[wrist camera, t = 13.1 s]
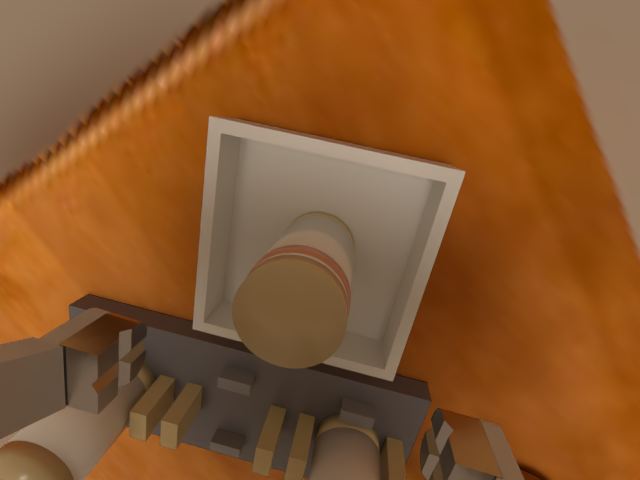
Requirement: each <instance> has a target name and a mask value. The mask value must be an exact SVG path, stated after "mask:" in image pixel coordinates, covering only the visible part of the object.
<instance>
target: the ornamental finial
mask: <svg viewBox="0 0 640 480" xmlns="http://www.w3.org/2000/svg"><path fill="white" fill-rule="evenodd" d="M520 471H521V473H522V475H523V477H524V480H541V479H539V478H538V477H536V476H534V475H532V474H531V473H528V472H526V471H523V470H520Z"/></svg>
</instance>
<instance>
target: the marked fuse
mask: <svg viewBox="0 0 640 480" xmlns="http://www.w3.org/2000/svg"><path fill="white" fill-rule="evenodd" d="M354 252H355V243H354V238H353V235H352V233H351V231H350V229H349V228H348V226H347V225H346V224H345V223H344V222H343V221H342V220H341V219H339V218H338V217H336V216H334V215H332V214H330V213H326V212H320V211H315V212H308V213H305V214H302V215H301V216H299V217H297V218H296V219H294V220H293V221H292V222H291V224H290V225H289V226H288V227H287V229H286V230H285V231H284V232H283V233H282V235H281V236H280V237H279V238H278V240H277V241H276V242H275V243H274V245H273V246H272V247H271V248H270V249H269V251H268V252H267V253H266V254H265V255H264V256H263V257H262V258H261V259H260V260H259V261H258V262H257V263H256V265H255V266H254V267H253V268H252V270H251V271H250V272H249V274H248V276H247V278H246V279H245V280H244V282H243V283H242V284H241V285H240V287H239V288H238V290H237V292H236V294H235V296H234V299H233V304H232V319H233V323H234V327H235V329H236V332H237V334H238V336H239V338H240V339H241V340H242V342H243V343H244V344H245V346H246V347H247V348H248V349H249V350H250V351H251V352H252V353H254V354H255V355H256V356H258V357H259V358H261V359H263V360H264V361H266V362H268V363H271V364H273V365H276V366H280V367H285V368H307V367H311V366H315V365H317V364H320V363H322V362H324V361H325V360H327V359H328V358H330V357H331V356H332V355H333V354H334V353H335V352H336V351H337V350H338V348H339V347H340V345H341V344H342V342H343V339H344V337H345V333H346V328H347V319H348V316H349V311H350V302H351V280H352V271H353V261H354Z"/></svg>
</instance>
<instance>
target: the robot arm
mask: <svg viewBox="0 0 640 480" xmlns="http://www.w3.org/2000/svg"><path fill="white" fill-rule="evenodd" d="M146 336H147V325H146V324H145V323H144V322H141V321H138V320H135V319H131V318H128V317H125V316H122V315H119V314H116V313H113V312H108V311H105V310H102V309H99V308H89V309H88V310H86V311H84V312H83V313H81V314H79V315H78V316H76V317H74V318H72V319H71V320H69V321H67V322H66V323H64V324H62V325H61V326H59V327H57V328H56V329H54V330H52V331H51V332H49V333H47V334H46V335H44V336H42V337H41V338H39V339H37V338H34V337H32V338H27V339H23V340H19V341H14V342H10V343H6V344H1V345H0V439H1V438H4V437H6V436H8V435H10V434H12V433H14V432H16V431H18V430H20V429H22V428H25V427H27V426H29V425H31V424H33V423H35V422H37V421H39V420H41V419H43V418H46V417H48V416H50V415H52V414H54V413H56V412H58V411H60V410H62V409H64V408H66V406H68V407H72V408H75V409H79V410H82V411H86V412H89V413H93V414H96V415H98V414H99V413H100V412H101V411H102V410H103V409H104V408H105V407H106V406H107V405H108V404H109V403H110V402H111V401H112V400H113V399H114V398H115V397H116V396H117V395H118V387H120V386H123V385H126V384H128V383H130V382H131V381H132V380H133V379H134V378H135V377H136V376H137V375H138V373H139V371H140V370H141V368H142V366H143V364H144V361H145V357H146V348H145V346H144V344H143V342H142V340H143V339H144V338H145V337H146ZM431 420H432V425H433V428H432V429H430V430H428V431H426V432H425V435H424V438H423V440H422V445H421V451H420V464H421V472H422V474H423V475H424V477H425V478H426V479H427V480H524V477H523V475H522V473H521V471H520V468H519V466H518V464H517V462H516V459H515V457H514V455H513V453H512V450H511V448H510V446H509V444H508V441H507V439H506V437H505V435H504V432H503V430H502V428H501V427H500V426H499V425H498V424H497V423H493V422H489V421H485V420H482V419H478V418H477V419H476V418H473V417H469V416H465V415H462V414H458V413H455V412H451V411H448V410H444V409H441V408H437V409H436V410H435V412H434V414H433V416H432V418H431ZM0 480H1V479H0Z"/></svg>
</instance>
